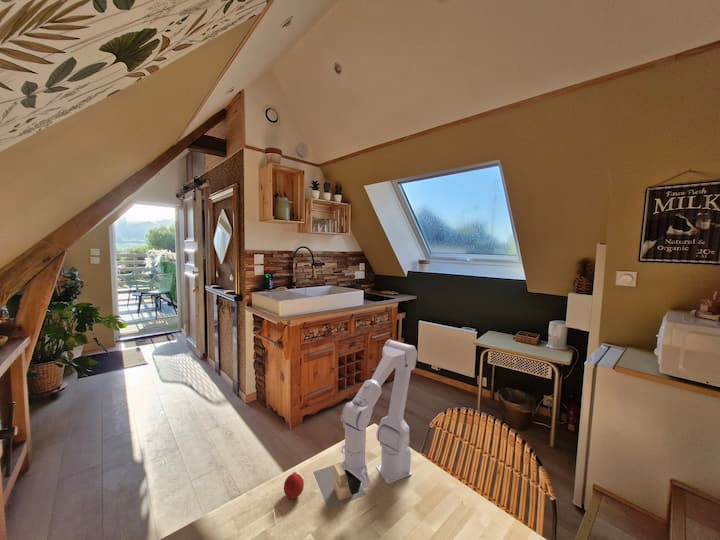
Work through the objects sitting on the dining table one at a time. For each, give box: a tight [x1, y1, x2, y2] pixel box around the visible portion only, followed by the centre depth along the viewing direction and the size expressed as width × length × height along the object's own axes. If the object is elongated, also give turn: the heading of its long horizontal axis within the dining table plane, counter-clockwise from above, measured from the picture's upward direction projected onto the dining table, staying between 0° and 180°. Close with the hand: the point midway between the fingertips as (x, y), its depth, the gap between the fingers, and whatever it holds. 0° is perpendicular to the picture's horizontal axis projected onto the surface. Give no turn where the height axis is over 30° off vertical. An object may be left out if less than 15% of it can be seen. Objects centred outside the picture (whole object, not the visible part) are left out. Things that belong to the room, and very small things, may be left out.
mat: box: [313, 461, 367, 510], centre depth 92 cm, size 12×15×1 cm
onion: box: [283, 470, 305, 500], centre depth 87 cm, size 6×6×8 cm
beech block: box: [333, 461, 353, 501], centre depth 88 cm, size 4×4×8 cm
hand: (354, 491), depth 81 cm, fingers closed
